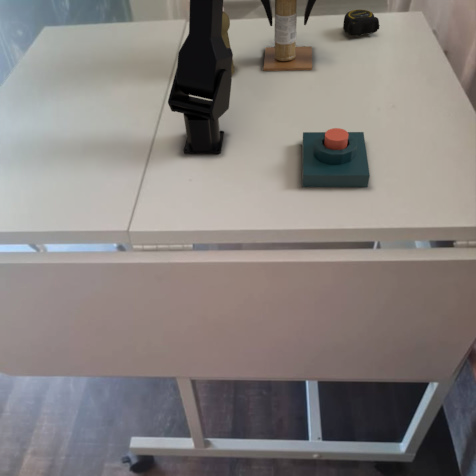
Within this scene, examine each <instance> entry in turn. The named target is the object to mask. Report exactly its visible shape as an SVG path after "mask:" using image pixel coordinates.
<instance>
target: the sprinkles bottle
mask: <svg viewBox="0 0 476 476" xmlns="http://www.w3.org/2000/svg"><path fill="white" fill-rule="evenodd" d="M297 1H298V0H274V47H275V55H274V56H275V58H276V59H277V60H280V61H289V60H292V59H294V58H295V56H296V54H295V47H296V41H297V23H298V22H297V19H298V12H297V9H298V8H297V5H298V3H297Z"/></svg>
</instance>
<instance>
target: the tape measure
mask: <svg viewBox="0 0 476 476" xmlns="http://www.w3.org/2000/svg"><path fill="white" fill-rule="evenodd" d="M380 26H381V25H380V20H379V18H378V17H376V16H375V14H374V13H373V12H372V11H370V10H368V9H353V10H350V11H348V12H346V13H345V14H344V17H343V24H342V27H343V28H342V29H343V31H344V33H346V34H348V36H352V37H362V36H364V35H369V34H374V33H377V32H378V30H380Z"/></svg>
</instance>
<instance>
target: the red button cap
mask: <svg viewBox="0 0 476 476" xmlns="http://www.w3.org/2000/svg"><path fill="white" fill-rule="evenodd" d="M325 132H326V133H325V139H324V146H325V147H326V148H328V149H331V150H342V149H345V148H346V147H347V143H348V136H349V134H348V132H349V131H347V130H346V129H343V128H339V127H334V128H330V129H327V130H325Z"/></svg>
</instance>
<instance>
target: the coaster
mask: <svg viewBox="0 0 476 476" xmlns="http://www.w3.org/2000/svg"><path fill="white" fill-rule="evenodd" d="M312 49H313V48H312V46H295V54H296V56H295V58H294V59H292V60H289V61H280V60H277V59H276V58H275V56H274V55H275V46H274V47H273V46H267V47H265V52H264V58H263V59H264V60H263V69H262V71H263V72H275V71H278V72H279V71H312V70H313V51H312Z"/></svg>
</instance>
